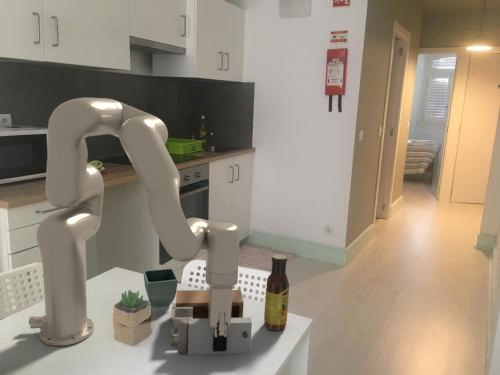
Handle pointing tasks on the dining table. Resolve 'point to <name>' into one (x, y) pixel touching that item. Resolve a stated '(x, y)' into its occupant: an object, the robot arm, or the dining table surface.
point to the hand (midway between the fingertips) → (219, 345)
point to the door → (201, 336)
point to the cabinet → (207, 302)
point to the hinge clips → (177, 315)
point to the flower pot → (160, 286)
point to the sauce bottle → (277, 295)
